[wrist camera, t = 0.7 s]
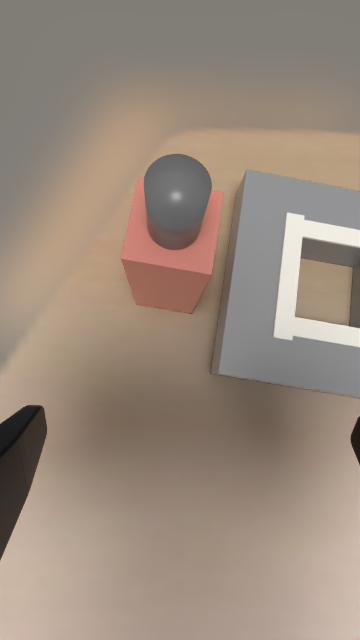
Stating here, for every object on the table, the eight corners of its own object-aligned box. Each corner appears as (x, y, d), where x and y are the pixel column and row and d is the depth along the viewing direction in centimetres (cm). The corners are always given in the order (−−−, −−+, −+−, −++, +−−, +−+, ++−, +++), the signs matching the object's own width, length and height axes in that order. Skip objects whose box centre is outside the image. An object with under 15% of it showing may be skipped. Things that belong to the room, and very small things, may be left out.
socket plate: (402, 405, 22) (442, 410, 19) (210, 373, 22) (219, 373, 19) (408, 226, 25) (444, 204, 22) (236, 194, 24) (247, 167, 21)
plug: (191, 313, 22) (225, 247, 11) (136, 304, 22) (109, 226, 10) (199, 261, 23) (240, 145, 11) (146, 252, 23) (132, 124, 11)
